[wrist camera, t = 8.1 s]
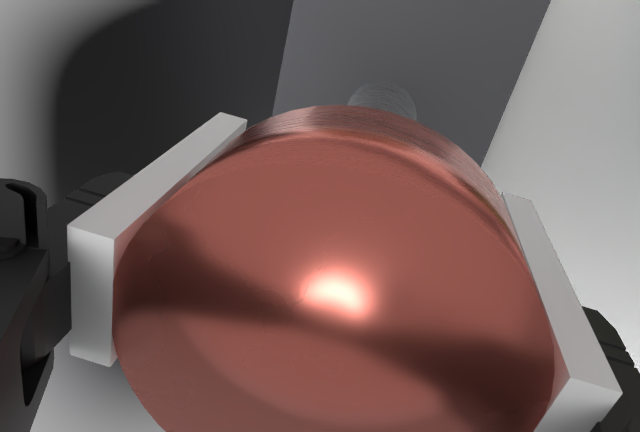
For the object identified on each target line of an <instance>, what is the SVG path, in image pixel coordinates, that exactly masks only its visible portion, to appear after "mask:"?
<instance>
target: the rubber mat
mask: <svg viewBox="0 0 640 432" xmlns="http://www.w3.org/2000/svg"><path fill="white" fill-rule="evenodd" d="M550 1H551V0H294V2H293V7H292V12H291V18H290V23H289V28H288V34H287V39H286V44H285V49H284V55H283V61H282V65H281V71H280V76H279V81H278V87H277V92H276V98H275V103H274V108H273V113H272V117H274V116H277V115H280V114H283V113H286V112H288V111H291V110H297V109H302V108H307V107H312V106H324V105H347V104H348V102H349V100H350V98H351V97H352V95H353V94H354V93H355V92H356V91H357V90H358V89H359V88H361V87H362V86H364V85H366V84H368V83H371V82H376V81H387V82H391V83H394V84H397V85H399V86H400V87H402V88H403V89H404V90H405V91H407V92H408V94H409V95H410V96H411V98H412V99H413V102H414V104H415V107H416V121H417V122H419V123H421V124H423V125H425V126H427V127H429V128H431V129H433V130H435V131H437V132H438V133H440V134H441V135H443V136H444V137H446V138H447V139H448V140H450V141H451V142H453V143H454V144H456V145H457V146H459V147H460V148H461V149H462V150H463V151H464V152H465V153H466V154H467V155H468V156H469V157H471V158H472V159H473V160H474V161H475V162H476V163H477V164H478V165H479V167H481V165H482V162H483V160H484V157H485V155H486V153H487V150H488V148H489V146H490V143H491V141H492V139H493V136H494V134H495V131H496V129H497V127H498V124H499V122H500V120H501V117H502V115H503V112H504V110H505V108H506V105H507V103H508V101H509V98H510V96H511V94H512V91H513V89H514V86H515V84H516V82H517V79H518V77H519V75H520V72H521V70H522V67H523V65H524V63H525V60H526V58H527V56H528V53H529V51H530V49H531V46H532V44H533V41H534V39H535V37H536V34H537V32H538V30H539V27H540V25H541V22H542V20H543V18H544V15H545V13H546V11H547V8H548V6H549V4H550Z"/></svg>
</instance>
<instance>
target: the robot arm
mask: <svg viewBox="0 0 640 432" xmlns="http://www.w3.org/2000/svg"><path fill="white" fill-rule="evenodd" d="M246 124H247V120H246V119H242V118H239V117H236V116H232V115H228V114H225V113H221V112H220V113H219V114H217V115H216V116H214V117H213V118H212V119H210V120H209V121H208V122H206V123H205V124H204V125H202V126H201V127H200V128H198V129H197V130H195V132H193V133H191V134H190V135H189V136H187V137H186V138H185V139H183V140H182V141H181V142H179V143H178V144H177V145H175V146H174V147H173V148H171V149H170V150H168V151H167V152H166V153H164V154H163V155H162V156H160V157H159V158H158V159H156V160H155V161H153V162H152V163H151V164H149V165H148V166H147V167H145V168H144V169H143V170H141V171H140V172H139V173H137V174H136V175H134V176H132V175H128V174H125V173H122V172H118V171H117V172H114V173H110V174H106V175H103V176H99V177H95V178H94V179H92V180H91V181H89V182H88V183H86V184H85V185H83V186H82V187H80V188H79V191H78V190H75V191H74V192H72V193H71V194H69V195H68V196H67V197H66V199H62V200H60V201H59V202H57V203H56V204H54V205H53V206H51V207H49V208H48V209H47V196H46V194H45V193H44V192H43V191H42V189H41V188H39V187H37V186H35V185H33V184H31V183H29V182H24V181H20V180H15V179H1V178H0V432H30V429H31V426H32V424H33V421H34V418H35V416H36V413H37V410H38V407H39V405H40V402H41V399H42V397H43V394H44V391H45V388H46V386H47V383H48V380H49V378H50V375H51V372H52V369H53V363H54V347H55V346H56V345H57V344H58V343H59V341H61V339H62V338H63V337H64V336H65V335H66V334H67V333H68V332H70V355H73V356H76V357H79V358H82V359H86V360H89V361H92V362H95V363H98V364H102V365H105V366H108V367H111V365H112V364H113V363H114V361H115V360H116V359H117V358H118V356H117V353H116V350H115V346H114V341H113V336H112V306H113V281H114V277H115V274H116V270H117V267H118V264H119V262H120V260H121V258H122V256H123V254H124V252H125V250H126V247H127V245H128V243H129V242H130V241H131V239H132V238H133V237H134V235H135V234H136V233H137V231H138V230H139V228H140V227H141V226H142V224H143V223H144V222H145V221H146V220H148V219H149V218H150V217H151V216H152V215H153V214H154V213H155V212H156V211H157V210H158V209H159V208H160V207H161V206H162V205H163V204H164V203H165V202H166V201H167V200H169V199H170V198H171V197H172V196H173V195H174V194H175V193H176V192H177V191H178V190H179V189H180V188H181V187H182V186H184V185H185V184H186V183H187V182H188V181H189V180H190V179H191V178H192V177H193V176H194V175H195V174H196V173H197V172H199V171H200V170H201V169H202V168H203V167H204V166H205V165H206V164H207V163H208V162H209V161H210V160H211V159H212V158H214V157H215V156H216V155H217V154H218V153H219V152H220V151H221V150H222V149H223V148H224V147H225V146H226V145H227V144H229V143H230V142H231V141H232V140H233V139H235V138H236V137H237V136H239V135H240V134H242V133H243V132H244V131H245V130H246ZM501 198H502V200H503V202H504V204H505V206H506V209H507V211H508V214H509V216H510V219H511V221H512V224H513V227H514V229H515V232H516V235H517V238H518V240H519V243H520V246H521V249H522V251H523V254H524V257H525V260H526V262H527V265H528V268H529V271H530V273H531V276H532V279H533V282H534V284H535V287H536V290H537V293H538V295H539V298H540V301H541V304H542V306H543V309H544V312H545V315H546V317H547V320H548V324H549V328H550V333H551V337H552V342H553V346H554V367H555V373H554V380H553V387H552V394H551V398H550V401H549V404H548V407H547V410H546V412H545V415H544V416H543V418H542V419H541V421H540V422H539V424H538V425H537V427H536V428H535V430H534V431H533V432H640V373H639V371H638V370H637V368H634V362H633V360H632V359H631V357H630V355H629V353H628V352H626V351H625V350H626V347H625V346H624V344H623V342H622V340H621V338H620V336H619V335H618V333H617V331H616V329H615V328H614V327H613V326H612V325H611V324H610V323H609V322H608V321H607V320H606V319H605V318H604V317H603V316H602V315H601V314H600V313H599V312H598V311H597V310H593V309H590V308H586V307H583V306H581V304H580V302H579V300H578V298H577V296H576V294H575V292H574V290H573V288H572V286H571V283H570V281H569V279H568V277H567V275H566V273H565V271H564V269H563V267H562V265H561V263H560V260H559V258H558V256H557V254H556V252H555V250H554V248H553V246H552V244H551V242H550V240H549V237H548V235H547V233H546V231H545V229H544V227H543V225H542V223H541V221H540V219H539V216H538V214H537V212H536V210H535V208H534V206H533V204H532V202H531V201H530V200H527V199H523V198H520V197H516V196H513V195H509V194H506V193H502V195H501Z"/></svg>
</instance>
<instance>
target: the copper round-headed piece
mask: <svg viewBox="0 0 640 432" xmlns="http://www.w3.org/2000/svg"><path fill="white" fill-rule="evenodd" d="M112 336H113V341H114V346H115V350H116V353H117V356H118V359H119V361H120V364H121V367H122V370H123V372H124V374H125V376H126V378H127V380H128V381H129V384H130V386H131V388H132V389H133V391H134V392H135V394H136V395H137V397H138V398H139V400H140V402H141V403H142V405H143V406H144V407H145V409H146V410H147V411H148V412H149V414H150V415H151V416H152V417H153V418H154V420H155V421H156V422H157V423H158V424H159V425H160V426H161V427H162V428H163V429H164V430H165V431H166V432H533V431H534V430H535V428H536V427H537V425H538V424H539V422H540V421H541V419H542V418H543V416H544V415H545V412H546V410H547V407H548V404H549V401H550V398H551V394H552V387H553V380H554V373H555V367H554V346H553V342H552V337H551V333H550V328H549V324H548V320H547V317H546V315H545V312H544V309H543V306H542V304H541V301H540V298H539V295H538V293H537V290H536V287H535V284H534V282H533V279H532V276H531V273H530V271H529V268H528V265H527V262H526V260H525V257H524V254H523V251H522V249H521V246H520V243H519V240H518V238H517V235H516V232H515V229H514V227H513V224H512V221H511V219H510V216H509V214H508V211H507V209H506V206H505V204H504V202H503V200H502V198H501V196H500V195H499V193H498V191H497V190H496V188H495V186H494V185H493V183H492V181H491V180H490V179H489V178H488V176H487V175H486V174H485V173H484V171H483V170H482V169H481V168H480V167H479V165H478V164H477V163H476V162H475V161H474V160H473V159H472V158H471V157H469V156H468V155H467V154H466V153H465V152H464V151H463V150H462V149H461V148H460V147H459V146H457V145H456V144H454V143H453V142H451V141H450V140H448V139H447V138H446V137H444V136H443V135H441V134H440V133H438V132H437V131H435V130H433V129H431V128H429V127H427V126H425V125H423V124H421V123H419V122H417V121H416V107H415V104H414V102H413V99H412V98H411V96H410V95H409V94H408V92H407V91H405V90H404V89H403V88H402V87H400V86H399V85H397V84H394V83H391V82H387V81H376V82H371V83H368V84H366V85H364V86H362V87H361V88H359V89H358V90H357V91H356V92H355V93H354V94H353V95H352V97H351V98H350V100H349V102H348V104H347V105H324V106H312V107H307V108H302V109H297V110H291V111H288V112H286V113H283V114H280V115H277V116H274V117H271V118H268V119H266V120H264V121H262V122H260V123H258V124H256V125H255V126H252V127H250V128H249V129H248V130H246V131H244V132H243V133H242V134H240V135H239V136H237V137H236V138H235V139H233V140H232V141H231V142H230V143H229V144H227V145H226V146H225V147H224V148H223V149H222V150H221V151H220V152H219V153H218V154H217V155H216V156H215V157H214V158H212V159H211V160H210V161H209V162H208V163H207V164H206V165H205V166H204V167H203V168H202V169H201V170H200V171H199V172H197V173H196V174H195V175H194V176H193V177H192V178H191V179H190V180H189V181H188V182H187V183H186V184H185V185H184V186H182V187H181V188H180V189H179V190H178V191H177V192H176V193H175V194H174V195H173V196H172V197H171V198H170V199H169V200H167V201H166V202H165V203H164V204H163V205H162V206H161V207H160V208H159V209H158V210H157V211H156V212H155V213H154V214H153V215H152V216H151V217H150V218H149V219H148V220H146V221H145V222H144V223H143V224H142V226H141V227H140V228H139V230H138V231H137V233H136V234H135V235H134V237H133V238H132V239H131V241H130V242H129V243H128V245H127V247H126V250H125V252H124V254H123V256H122V258H121V260H120V262H119V264H118V267H117V270H116V274H115V277H114V281H113V306H112Z"/></svg>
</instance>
